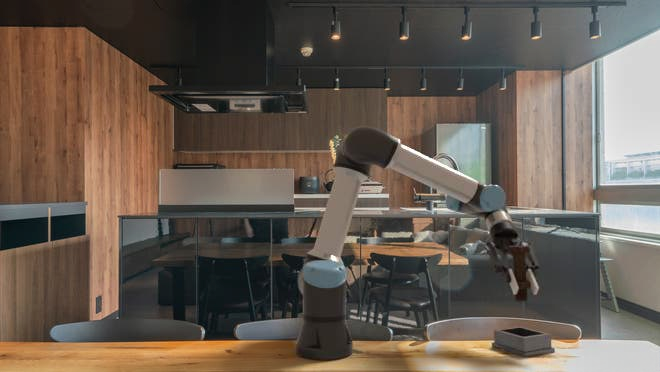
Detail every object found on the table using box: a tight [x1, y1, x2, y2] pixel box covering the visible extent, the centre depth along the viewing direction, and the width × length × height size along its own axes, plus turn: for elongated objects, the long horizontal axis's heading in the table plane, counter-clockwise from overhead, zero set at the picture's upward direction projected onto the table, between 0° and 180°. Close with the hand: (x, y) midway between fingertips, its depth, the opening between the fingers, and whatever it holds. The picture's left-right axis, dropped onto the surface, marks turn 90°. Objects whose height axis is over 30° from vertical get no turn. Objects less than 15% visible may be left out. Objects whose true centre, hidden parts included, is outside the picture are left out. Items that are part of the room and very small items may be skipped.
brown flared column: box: [508, 246, 531, 303], centre depth 115 cm, size 6×5×15 cm
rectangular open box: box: [491, 326, 556, 358], centre depth 113 cm, size 11×11×4 cm
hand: (526, 291), depth 110 cm, fingers closed on brown flared column, 4 cm apart
